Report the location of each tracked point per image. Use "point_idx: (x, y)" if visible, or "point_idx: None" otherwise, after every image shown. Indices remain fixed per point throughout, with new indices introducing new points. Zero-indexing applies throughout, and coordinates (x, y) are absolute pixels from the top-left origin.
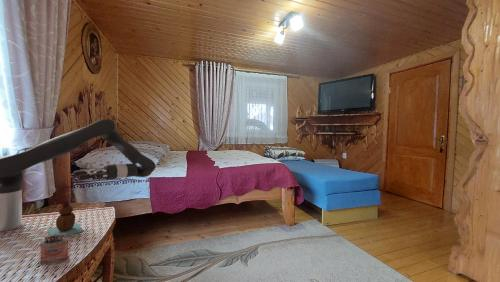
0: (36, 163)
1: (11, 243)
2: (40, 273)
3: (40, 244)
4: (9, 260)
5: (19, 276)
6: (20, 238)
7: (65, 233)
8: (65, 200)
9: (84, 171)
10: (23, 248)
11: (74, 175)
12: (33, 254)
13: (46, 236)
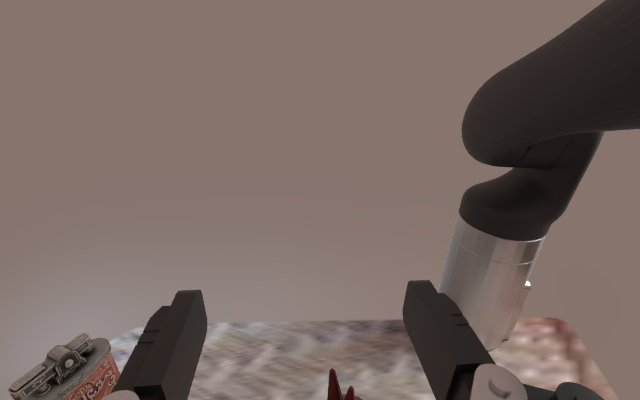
0: (546, 129)
1: (329, 331)
2: None
3: (96, 339)
4: (220, 329)
5: (110, 344)
6: (354, 348)
7: (14, 388)
8: (348, 391)
9: (469, 382)
10: (270, 353)
11: (405, 309)
12: (203, 372)
13: (81, 337)
